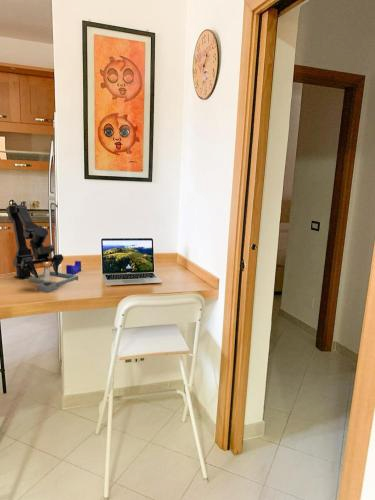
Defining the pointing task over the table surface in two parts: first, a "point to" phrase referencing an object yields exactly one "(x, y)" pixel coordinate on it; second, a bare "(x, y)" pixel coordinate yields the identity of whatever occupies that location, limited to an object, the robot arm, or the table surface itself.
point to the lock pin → (46, 272)
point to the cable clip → (73, 268)
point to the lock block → (47, 287)
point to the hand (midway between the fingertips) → (47, 276)
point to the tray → (62, 275)
